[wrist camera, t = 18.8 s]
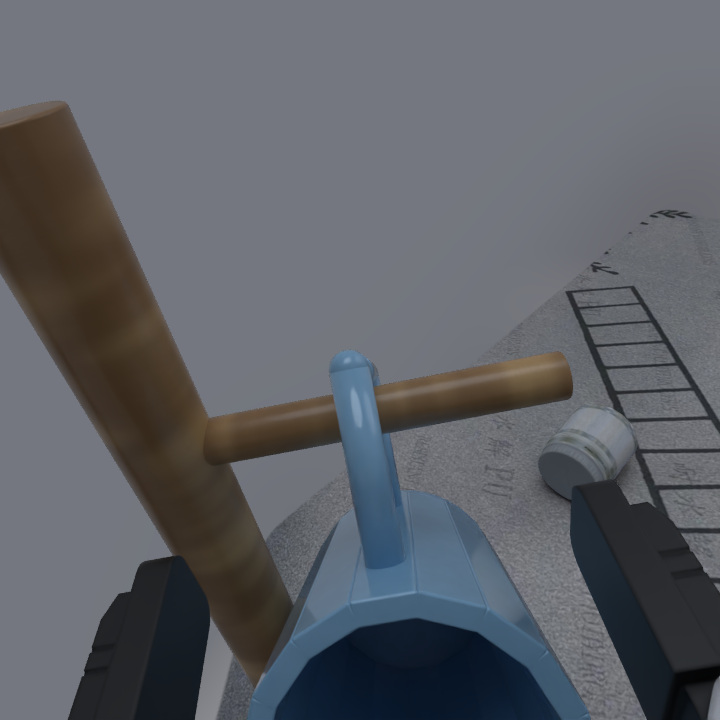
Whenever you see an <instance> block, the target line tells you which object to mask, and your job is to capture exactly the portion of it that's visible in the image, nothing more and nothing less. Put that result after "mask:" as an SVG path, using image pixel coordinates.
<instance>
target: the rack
mask: <svg viewBox="0 0 720 720" xmlns="http://www.w3.org/2000/svg"><path fill="white" fill-rule="evenodd" d="M0 274H1V275H2V277H3V278H4V280H5V282H6V283H7V285H8V287H9V288H10V290H11V292H12V293H13V295H14V297H15V298H16V300H17V301H18V303H19V304H20V306H21V308H22V310H23V311H24V313H25V314H26V316H27V318H28V319H29V321H30V323H31V324H32V326H33V328H34V329H35V331H36V333H37V334H38V336H39V337H40V339H41V341H42V342H43V344H44V345H45V347H46V349H47V351H48V352H49V354H50V355H51V357H52V359H53V360H54V362H55V364H56V365H57V367H58V368H59V370H60V372H61V373H62V375H63V376H64V378H65V380H66V381H67V383H68V385H69V386H70V388H71V390H72V391H73V393H74V395H75V396H76V398H77V400H78V401H79V403H80V404H81V406H82V408H83V409H84V411H85V412H86V414H87V416H88V418H89V419H90V421H91V422H92V424H93V425H94V427H95V429H96V431H97V432H98V434H99V435H100V437H101V439H102V440H103V442H104V444H105V445H106V447H107V449H108V450H109V452H110V453H111V455H112V457H113V458H114V460H115V461H116V463H117V465H118V467H119V468H120V470H121V471H122V473H123V474H124V476H125V478H126V480H127V481H128V483H129V485H130V486H131V488H132V489H133V491H134V493H135V494H136V496H137V498H138V499H139V501H140V503H141V504H142V506H143V507H144V509H145V511H146V512H147V514H148V516H149V517H150V519H151V521H152V522H153V524H154V525H155V526H156V529H157V530H158V532H159V534H160V535H161V537H162V538H163V540H164V542H165V543H166V545H167V547H168V548H169V550H170V552H171V553H172V555H173V556H177V555H180V556H182V557H183V558H184V559H185V561H186V563H187V564H188V566H189V568H190V569H191V571H192V573H193V574H194V576H195V578H196V579H197V581H198V583H199V584H200V586H201V588H202V589H203V591H204V593H205V595H206V597H207V599H208V603H209V609H210V617H211V619H212V620H213V622H214V623H215V625H216V627H217V628H218V630H219V632H220V633H221V635H222V637H223V638H224V640H225V641H226V643H227V645H228V646H229V648H230V650H231V651H232V653H233V655H234V656H235V658H236V659H237V661H238V663H239V664H240V666H241V668H242V669H243V671H244V673H245V674H246V676H247V677H248V679H249V681H250V682H251V684H252V686H253V687H254V689H255V688H256V686H257V684H258V682H259V680H260V677H261V675H262V673H263V671H264V669H265V667H266V665H267V662H268V660H269V658H270V656H271V654H272V652H273V649H274V647H275V645H276V643H277V641H278V639H279V637H280V634H281V632H282V630H283V628H284V626H285V624H286V622H287V619H288V617H289V615H290V613H291V611H292V609H293V606H294V605H293V603H292V600H291V598H290V596H289V594H288V592H287V589H286V587H285V585H284V583H283V581H282V578H281V576H280V574H279V572H278V569H277V567H276V565H275V563H274V561H273V558H272V556H271V554H270V552H269V549H268V547H267V545H266V543H265V541H264V538H263V536H262V534H261V532H260V529H259V527H258V525H257V523H256V521H255V518H254V516H253V514H252V512H251V509H250V507H249V505H248V503H247V501H246V498H245V496H244V494H243V492H242V490H241V487H240V485H239V483H238V481H237V479H236V476H235V474H234V472H233V470H232V467H231V465H230V463H231V462H237V461H242V460H248V459H253V458H258V457H264V456H269V455H274V454H280V453H284V452H291V451H295V450H301V449H307V448H312V447H317V446H323V445H328V444H333V443H339V442H342V441H341V435H340V430H339V424H338V419H337V414H336V408H335V403H334V398H333V394H332V395H327V396H322V397H316V398H311V399H306V400H300V401H295V402H290V403H285V404H280V405H274V406H269V407H264V408H259V409H254V410H248V411H244V412H238V413H233V414H228V415H222V416H217V417H212V418H209V417H208V414H207V412H206V410H205V407H204V405H203V403H202V401H201V399H200V396H199V394H198V392H197V390H196V387H195V386H194V383H193V381H192V379H191V376H190V374H189V372H188V370H187V367H186V365H185V363H184V361H183V359H182V357H181V354H180V352H179V350H178V348H177V345H176V343H175V341H174V339H173V336H172V334H171V332H170V330H169V328H168V325H167V323H166V321H165V319H164V316H163V314H162V312H161V310H160V308H159V305H158V303H157V301H156V299H155V296H154V294H153V292H152V290H151V288H150V285H149V283H148V281H147V279H146V277H145V274H144V272H143V270H142V268H141V265H140V263H139V261H138V259H137V257H136V254H135V252H134V250H133V248H132V246H131V243H130V241H129V239H128V237H127V234H126V232H125V230H124V228H123V226H122V223H121V221H120V219H119V217H118V214H117V212H116V210H115V208H114V205H113V203H112V201H111V199H110V197H109V194H108V192H107V190H106V188H105V186H104V183H103V181H102V179H101V177H100V174H99V172H98V170H97V168H96V166H95V163H94V161H93V159H92V157H91V154H90V152H89V150H88V148H87V146H86V143H85V141H84V139H83V137H82V134H81V133H80V130H79V128H78V126H77V123H76V121H75V119H74V117H73V114H72V112H71V110H70V108H69V106H68V104H67V103H66V102H64V101H50V102H44V103H38V104H33V105H28V106H24V107H19V108H15V109H11V110H7V111H3V112H0ZM373 388H374V393H375V398H376V404H377V409H378V414H379V420H380V425H381V430H382V434H387V433H392V432H397V431H403V430H408V429H413V428H419V427H424V426H429V425H435V424H440V423H445V422H451V421H456V420H461V419H467V418H472V417H478V416H483V415H488V414H494V413H499V412H504V411H510V410H515V409H520V408H526V407H531V406H536V405H542V404H547V403H552V402H558V401H563V400H568V399H570V398H571V396H572V393H573V381H572V375H571V371H570V367H569V364H568V362H567V360H566V358H565V356H564V355H563V354H562V353H561V352H559V351H556V352H551V353H546V354H540V355H535V356H530V357H525V358H520V359H514V360H509V361H504V362H499V363H493V364H488V365H483V366H478V367H473V368H467V369H462V370H457V371H452V372H447V373H441V374H436V375H431V376H426V377H420V378H415V379H410V380H405V381H400V382H395V383H389V384H384V385H379V386H374V387H373Z"/></svg>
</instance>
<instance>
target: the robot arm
mask: <svg viewBox="0 0 720 720" xmlns="http://www.w3.org/2000/svg"><path fill="white" fill-rule="evenodd" d="M570 538H571V544H572V548H573V552H574V555H575V558H576V561H577V564H578V566H579V568H580V571H581V573H582V575H583V577H584V580H585V582H586V584H587V586H588V589H589V591H590V593H591V595H592V598H593V600H594V602H595V604H596V606H597V609H598V611H599V613H600V615H601V618H602V620H603V622H604V624H605V627H606V629H607V631H608V633H609V636H610V638H611V640H612V642H613V645H614V647H615V649H616V651H617V654H618V656H619V658H620V660H621V662H622V665H623V667H624V669H625V671H626V674H627V676H628V678H629V680H630V683H631V685H632V687H633V689H634V692H635V694H636V696H637V698H638V701H639V703H640V705H641V707H642V710H643V712H644V714H645V716H646V719H647V720H720V593H719V591H718V590H717V588H716V587H715V585H714V584H713V582H712V581H711V579H710V578H709V576H708V574H707V573H705V572H704V571H703V567H702V565H701V564H700V562H699V561H698V559H697V558H696V556H695V555H694V553H693V552H691V551H690V549H689V545H688V544H687V542H686V541H685V539H684V538H683V536H682V535H681V533H680V532H679V530H678V529H677V527H676V526H675V524H674V523H673V521H671V520H670V519H669V518H668V517H666V516H665V515H664V514H663V513H661V512H660V511H659V510H657V509H656V508H655V507H654V506H652V505H651V504H650V503H649V502H645V503H639V504H633V505H630V504H629V503H628V501H627V499H626V498H625V496H624V494H623V493H622V491H621V489H620V488H619V486H618V485H617V483H616V482H615V481H614V480H612V479H609V480H604V481H598V482H592V483H587V484H581V485H576V486H573V488H572V496H571V523H570ZM209 627H210V609H209V603H208V599H207V597H206V595H205V593H204V591H203V589H202V588H201V586H200V584H199V583H198V581H197V579H196V578H195V576H194V574H193V573H192V571H191V569H190V568H189V566H188V564H187V563H186V561H185V559H184V558H183V557H182V556H180V555H177V556H171V557H166V558H160V559H155V560H149V561H144V562H143V563H141V564H140V566H139V567H138V570H137V572H136V576H135V579H134V583H133V586H132V589H131V592H126V593H120V594H118V596H117V597H116V599H115V600H114V602H113V603H112V604H111V606H110V607H109V609H108V610H107V612H106V613H105V615H104V616H103V618H102V619H101V621H100V624H99V627H98V631H97V633H96V636H95V639H94V643H93V645H92V653H90V654H89V657H88V660H87V663H86V666H85V669H84V671H85V675H84V676H83V677H82V678H81V681H80V685H79V687H78V690H77V693H76V696H75V699H74V702H73V705H72V708H71V712H70V715H69V717H68V720H195V714H196V708H197V701H198V695H199V689H200V683H201V677H202V671H203V664H204V658H205V652H206V646H207V640H208V633H209Z"/></svg>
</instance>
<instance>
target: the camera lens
mask: <svg viewBox="0 0 720 720" xmlns="http://www.w3.org/2000/svg"><path fill="white" fill-rule="evenodd" d="M636 449H637V437H636V433H635V430H634V428H633V427H632V425H631V424H630V422H629V421H628V420H627V419H626V418H625V417H624V416H623V415H621V414H620V413H619V412H617V411H615V410H614V409H612V408H609V407H607V406H603V405H598V404H591V405H584V406H582V407H580V408H578V409H577V410H576V411H575V412H574V414H573V415H572V416H571V417H570V418H569V419H568V420H567V421H566V422H565V424H564V425H563V426H562V427H561V428H560V429H559V430H558V431H557V432H556V434H555V435H554V436H553V437H552V438H551V439H550V440H549V441H548V443H547V445H546V447H545V448H544V449H543V451H542V454H541V456H540V458H539V461H538V462H539V463H538V465H539V470H540V472H541V475H542V477H543V478H544V480H545V481H546V482H547V484H548V485H549V486H550V487H551V488H552V489H553V490H554V491H556V492H557V493H559V494H560V495H561V496H563V497H565V498H567V499H569V500H571V496H572V488H573V486H576V485H581V484H587V483H592V482H598V481H604V480H609V479H612V480H614V479H615V477H616V476H617V475H618V473H619V472H620V471H621V469H622V468H623V467H624V465H625V464H626V463H627V461H628V460H629V459H630V458H631V456H632V455H633V454H634V452H635V451H636Z"/></svg>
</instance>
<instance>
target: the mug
mask: <svg viewBox="0 0 720 720" xmlns="http://www.w3.org/2000/svg"><path fill="white" fill-rule="evenodd" d="M329 376H330V382H331V387H332V392H333V398H334V403H335V408H336V414H337V419H338V424H339V430H340V435H341V441H342V446H343V451H344V457H345V462H346V467H347V473H348V478H349V484H350V489H351V494H352V500H353V505H354V507H353V508H352V509H350V510H349V511H348V512H347V513H346V514H345V515H344V516H343V517H342V518H341V519H340V520H339V521H338V522H337V524H336V525H335V526H334V527H333V529H332V530H331V532H330V534H329V536H328V537H327V539H326V541H325V542H324V543H323V545H322V546H321V548H320V550H319V553H318V555H317V557H316V559H315V561H314V563H313V566H312V568H311V570H310V572H309V574H308V576H307V578H306V581H305V583H304V585H303V587H302V589H301V591H300V594H299V596H298V598H297V600H296V602H295V604H294V606H293V609H292V611H291V613H290V615H289V617H288V619H287V622H286V624H285V626H284V628H283V630H282V632H281V634H280V637H279V639H278V641H277V643H276V645H275V647H274V649H273V652H272V654H271V656H270V658H269V660H268V662H267V665H266V667H265V669H264V671H263V673H262V675H261V677H260V680H259V682H258V684H257V686H256V688H255V690H254V693H253V696H252V698H251V701H250V705H249V710H248V715H247V720H591V717H590V714H589V712H588V709H587V707H586V705H585V704H584V702H583V700H582V698H581V697H580V695H579V693H578V692H577V690H576V688H575V686H574V685H573V683H572V681H571V680H570V678H569V676H568V674H567V673H566V671H565V669H564V668H563V666H562V664H561V663H560V661H559V659H558V657H557V656H556V654H555V652H554V651H553V649H552V647H551V645H550V644H549V642H548V640H547V639H546V637H545V635H544V634H543V632H542V630H541V628H540V627H539V625H538V623H537V622H536V620H535V618H534V616H533V615H532V613H531V611H530V610H529V608H528V606H527V604H526V603H525V601H524V599H523V598H522V596H521V594H520V593H519V591H518V589H517V587H516V586H515V584H514V582H513V581H512V579H511V577H510V575H509V574H508V572H507V570H506V569H505V567H504V565H503V564H502V562H501V560H500V558H499V557H498V555H497V553H496V552H495V550H494V549H493V547H492V545H491V544H490V542H489V541H488V539H487V538H486V536H485V535H484V533H483V531H482V530H481V529H480V527H479V526H478V524H477V523H476V522H475V521H474V520H473V519H472V518H471V517H470V516H469V515H468V514H467V513H465V512H464V511H463V510H462V509H460V508H459V507H458V506H456V505H455V504H453V503H451V502H450V501H448V500H446V499H443V498H441V497H439V496H436V495H433V494H430V493H426V492H420V491H414V490H400V485H399V480H398V474H397V469H396V464H395V459H394V453H393V448H392V443H391V438H390V433H387V434H382V430H381V425H380V420H379V414H378V409H377V404H376V398H375V393H374V388H373V387H374V386H379V385H380V380H379V375H378V370H377V368H376V366H375V365H374V364H373V363H372V362H371V361H370V360H368V359H367V358H366V357H365V356H363V355H362V354H361V353H359V352H357V351H354V350H345V351H341V352H339V353H338V354H336V355H335V356H334V357H333V359H332V360H331V362H330V366H329Z"/></svg>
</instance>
